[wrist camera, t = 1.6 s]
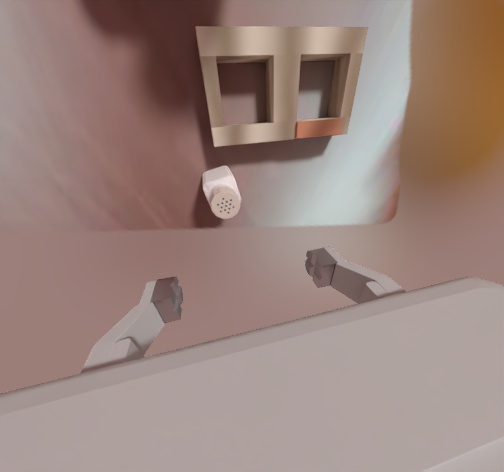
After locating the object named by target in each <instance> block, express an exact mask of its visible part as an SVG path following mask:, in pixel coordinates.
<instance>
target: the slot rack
mask: <svg viewBox="0 0 504 472" xmlns="http://www.w3.org/2000/svg"><path fill="white" fill-rule="evenodd" d="M367 30H368V27H229V26H196V39H197V45H198V51H199V58H200V64H201V70H202V77H203V83H204V89H205V96H206V102H207V108H208V114H209V121H210V127H211V133H212V140H213V145H214V147H218V146H229V145H239V144H249V143H260V142H270V141H280V140H291V139H301V138H311V137H322V136H332V135H343V134H347V131H348V126H349V121H350V116H351V111H352V106H353V101H354V96H355V91H356V86H357V81H358V76H359V71H360V66H361V61H362V56H363V50H364V45H365V40H366V35H367ZM328 60H335V64H334V72H333V79H332V86H331V93H330V100H329V107H328V115H327V118H315V119H302V120H297V108H298V92H299V76H300V61H328ZM252 62H266V122H264V123H252V124H239V125H226V126H224V119H223V111H222V103H221V95H220V87H219V78H218V70H217V63H252Z"/></svg>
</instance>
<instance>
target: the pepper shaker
mask: <svg viewBox="0 0 504 472" xmlns="http://www.w3.org/2000/svg"><path fill="white" fill-rule="evenodd" d="M203 191H204V193H205V196H206V198H207V201H208V203H209V205H210V207H211V210H212V212H213V213H214V214H215V215H216V216H217V217H220V218H222V219H227V218H232V217H233V216H235V215H236V214H237V213H238V211H239V209H240V203H241V197H240V194H239V190H238V187H237V184H236V181H235V178H234V176H233V174H232V173H231V171H230V169H229V168H228V166H221V167H218V168H215V169H212V170H209V171H206V172H204V173H203Z"/></svg>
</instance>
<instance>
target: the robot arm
mask: <svg viewBox="0 0 504 472" xmlns="http://www.w3.org/2000/svg"><path fill="white" fill-rule="evenodd" d="M307 257H308V259H307V260H306V264H305V266H306V270H307V272H308V274H309V275H310V276H312V277H313V281H314V283H315V284H316V286H317V287H318V288H320V287H325V286H330V285H331V287H333V288H335V289H336V290H338V291H339V292H341V293H342V294H344V295H346V296H347V297H349V298H350V299H352V300H353V301H355V302H357V303H358V304H355V305H351V306H348V307H344V308H340V309H335V310H332V311H328V312H324V313H320V314H316V315H312V316H308V317H304V318H300V319H296V320H292V321H288V322H284V323H280V324H276V325H272V326H268V327H264V328H260V329H256V330H252V331H248V332H244V333H240V334H236V335H232V336H229V337H224V338H220V339H216V340H212V341H208V342H204V343H200V344H196V345H192V346H188V347H184V348H180V349H176V350H172V351H168V352H164V353H160V354H156V355H152V356H148V357H144V356H143V355H144V354H145V352H146V351H147V349H148V348H149V346H150V345H151V344H152V342H153V341H154V339H155V338H156V336H157V335H158V333H159V332H160V330H161V329H162V328H163V326H164V325H165V323H167V322H171V321H175V320H179V319H181V310H182V309H181V306H180V305H181V304H182V301H183V293H182V289H181V287H180V286H179V285H178V279H177V277H170V278H164V279H158V280H154V281H148V283H146V286H145V289H144V292H143V295H142V298H141V300H140V303H139V305H137V306H135V307H134V308H133V309H132V310H131V311H130V312H129V313H128V314H127V315H126V316H125V317H123V318H122V319H121V320H120V321H119V322H118V323H117V324H116V325H115V326H114V327H113V328H112V329H111V330H110V331H109V332H108V333H107V334H106V335H104V336H103V337H102V338H101V339H100V340H99V341H98V342H97V343H96V344H95V345H94V347H93V349H92V351H91V353H90V355H89V357H88V359H87V361H86V363H85V365H84V367H83V369H82V371H81V373H80V374H77V375H73V376H69V377H65V378H61V379H57V380H53V381H49V382H45V383H41V384H37V385H33V386H29V387H25V388H21V389H17V390H13V391H9V392H5V393H1V394H0V472H504V286H503V285H500V284H497V283H493V282H490V281H486V280H483V279H479V278H475V277H464V278H459V279H455V280H451V281H447V282H443V283H439V284H435V285H431V286H427V287H423V288H419V289H415V290H411V291H408V292H406V291H405V290H404V289H403V288H401V287H400V286H399V285H398V284H397V283H395V282H394V281H393V280H392V279H391V278H390V277H388V276H385V275H383V274H380V273H378V272H375V271H372V270H370V269H367V268H365V267H362V266H360V265H357V264H354V263H352V262H349V261H345V260H344V259H343V258H342V257H341V256H340V255H339V254H338V253H337V252H336V251H335V250H334V249H333V248H332V247H330V246H328V247H324V248H320V249H314V250H309V251H307Z"/></svg>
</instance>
